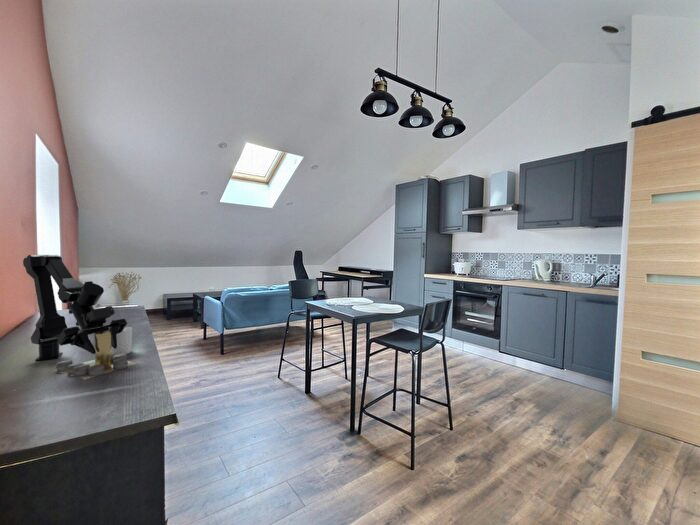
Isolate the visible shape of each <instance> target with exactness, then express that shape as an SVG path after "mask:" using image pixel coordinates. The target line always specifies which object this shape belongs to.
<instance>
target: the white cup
mask: <svg viewBox="0 0 700 525" xmlns="http://www.w3.org/2000/svg"><path fill="white" fill-rule="evenodd" d="M116 337H117V348H116V349H114V348H113V347H112V346H111V353H113V354H115V355H119V354H127V355H128V354H129V353H131V352H132V344H133V343H132V340H133V327H132V326H131V327H130V326H125V328H124V329H123V331H122V332H121V333H119V334H117V335H116Z"/></svg>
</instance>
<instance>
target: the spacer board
mask: <svg viewBox="0 0 700 525" xmlns="http://www.w3.org/2000/svg"><path fill="white" fill-rule="evenodd" d="M127 355H128V353H127V354H119V355H115V354H113V353H111V359H112V368H110V369H107V370H104V365H103V364H98V365H95V359H93V360H88V361H84V362H78V363H77V362H76V363H73V360H70V359H67V360H62V361H58V362H56V363H55V364H56V369H53V370H52V371H53V372H57V373H60V374H63V375H67V376H71V377H75V378H78V379H81V380H88V379H91V378H95V377H99V376H102V375H104V374H107V373H110V372H113V371H117V370H123V369H126V368H128V367H130V366H133V365H137V364H138V363H137V362H133V361H129V360H128V356H127Z"/></svg>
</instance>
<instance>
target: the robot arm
mask: <svg viewBox="0 0 700 525" xmlns="http://www.w3.org/2000/svg"><path fill="white" fill-rule="evenodd" d="M22 263H23V264H22V265H23V267H24V269H25V271H26V274H28V275H29V276H30V277H31V278H32V279H33V282H34V287H35V288H34V289H35V292H36V301H37V305H38V312H39V318H38V320H37V321H36V323H35V329H34V331H33V333H32V335H31V336H30V341H31V344H32V345H33V344H34V345H38V356H37V357H36V358H35V361H36V362H37V361H43V360H44V361H45V360H53V359H59V358H60V357H61V356H62V355H63V352H60V346H66V345H70V346H76V347H78V348H80V349H83V350H85V351H86V352H89V353H91V354H92V355H95V353H96V351H95V345H93V343H92V342H91V340H90V339H89V336H90V335H94V334H95V333H98V332H106V331H109V332H111V346H112V347H113V348H114V349H116V348H117V337H116V335H117V334H119V333H121V332H122V331H123V329H124V328H125V327H127V325H128V323H129V322H127V320H126V319H125V318H116V319H112V320H111V321H110V322H109V324H107V325H104V324H106V323H107V319H108V318H111V317H112V316H113V315H115V312H116V311H115V309H114V307H113V306H112V305H109V306H108V305H107V306H105V307H104V308H94V306H95V305H97V303H98V302H99V300H100V299H101V297H102V295H103V293H104V292H105V290H104V288H103V286H101V285H100V284H98V283H94V282H93V280H91V281H84V283H83V282H82V281H79V280H77V279H75V278H74V276H73V275H72V273H71V272H70V271H69V269H68V267H67V266H66V265H65V264H64V262H63V257H62V256H61V255H58V254H28V255H27V256H26V257H24V258H23V260H22ZM52 278H53V280H54V282H55V283H56V285H57V286H58V291H57V297H58V299H59V301H61V303H63V304H70V303H71V305H70V306H69V309H68V314H69V315H72V314H73V317H74V318H75V320H76V322H75V326H71V327H68V324H67V323H66V317H65V316H64V315H60V314H59V312H58V309H57V303H56V299H55V293H54V287H53V286H54V285H53V281H52Z"/></svg>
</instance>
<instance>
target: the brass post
mask: <svg viewBox="0 0 700 525" xmlns="http://www.w3.org/2000/svg"><path fill="white" fill-rule="evenodd" d="M93 335H94V348H95V351H96V353H95V354H94V360H95V365H98V364H103V365H104V370H107V369H110V368H112V359H111V332H109V331H106V332H98V333H95V334H93Z"/></svg>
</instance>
